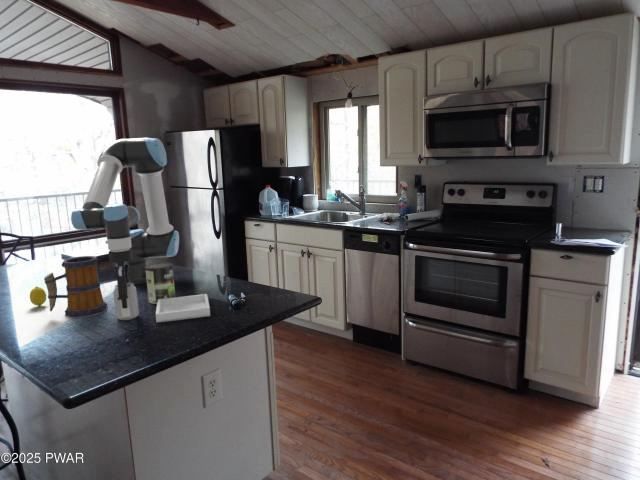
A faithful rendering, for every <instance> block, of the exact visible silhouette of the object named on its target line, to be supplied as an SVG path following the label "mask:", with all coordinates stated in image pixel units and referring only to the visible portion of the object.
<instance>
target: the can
mask: <svg viewBox="0 0 640 480" xmlns="http://www.w3.org/2000/svg"><path fill="white" fill-rule="evenodd" d="M112 292H113V293H112V294H113V299H114V307H115V308H114V309H115V317H116V318H117V319H118V320H120V321H129V320H133V319H135V318H137V317H138V316H139V314H140V310H139V302H138V292H137V287H136V286H135V285H134V284H133V283H127V294H128V298H129V306H130V315H131V316H130V317H122V313H121V305H120V300H118V299H117V298H119V294H118V284H116V285H114V289H113V291H112Z"/></svg>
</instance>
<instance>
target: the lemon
mask: <svg viewBox="0 0 640 480" xmlns="http://www.w3.org/2000/svg"><path fill="white" fill-rule="evenodd" d="M29 300H30V303H31V304H33V305H34V306H37V307H41V306H42V305H43V304H44V303H45V302H46V301H47V292H46V291H45V290H44V288H42V287H40V286H39V287H38V286H35V287H33V289H31V290H30V293H29Z"/></svg>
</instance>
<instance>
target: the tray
mask: <svg viewBox="0 0 640 480" xmlns="http://www.w3.org/2000/svg"><path fill="white" fill-rule="evenodd" d="M205 317H211V307H210V302H209V296H208V294H207V293H204V294H196V295H195V294H194V295H185V296H177V297H176V296H175V297H174V298H166V299H158V302H157V304H156V309H155V320H156V323H157V324H159V323H166V322H172V321H174V322H175V321H181V320H182V321H183V320H189V319H198V318H205Z"/></svg>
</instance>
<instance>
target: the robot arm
mask: <svg viewBox="0 0 640 480" xmlns="http://www.w3.org/2000/svg"><path fill="white" fill-rule="evenodd" d="M167 157H168V156H167V152H166V148H165V147H164V143H163V142H162V140H160V139H159V138H154V137H153V138H151V137H138V138H120V139H117V140H115V141H113V142H111V143H110V144H109V145H107V146H106V147H105V148H104V149H103V151H102V152H101V153H100V155H99V157H98V159H97V169H96V172H95V174H94V178H93V180H92V182H91V185H90V188H89V190H88V193H87V196H86V198H85V200H84V204H83V206H82V208H76V209H74V210H72V212H71V215H70V221H71V224H72V227H73V228H74V230H75V229H76V230H78V231H79V230H82V231H90V230H92V231H93V230H105V233H106V234H105V235H106V239H107V240H105V245H106V244H107V248H108V250H109V251H108V259H109V260H108V261H109V262H110V263H115V264H116V266H115V267H114V268H115V274H116V280H117V281H116V283H117V284H116V285H118V294H119V298H117V299H118V300H120V305H121V313H122V317H130V316H131V315H130V306H129V298H128V294H127V283H133V284H134V286H135V285H140V284H147V278H146V269H145V266H147V265H149V264H148V259H153V258H154V259H155V258H156V259H157V258H170V257H175V256H177V254H178V251H179V246H180V233H179V231H178V230H174V226H173V225H172V224H170V221H169V215H168V210H167V203H166V196H165V191H164V185H163V178H162V177H163V176H162V172H163V171H164V169H165V166H166V165H167V164H168V159H167ZM125 168H134V172H135V173H136V175H138V176H139V178H140V184H141V189H142V195H143V199H144V205H145V210H146V217H147V222H148V227H147V228H146V232H145V230H144V229H143V228H138V229H132V230H131V229H130V228H133V227H135V226H136V225H137V224H139V222H140V220H141V213H140V211H139V209H138V208H136V207H135V206H132V205H128V206H127V204H123V203H115V204H113V203H112V204H109V201H110V199H111V195H112V192H113V189H114V187H115V183H116V180H117V178H118V175H119V174H120V173H122V171H123V169H125Z"/></svg>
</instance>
